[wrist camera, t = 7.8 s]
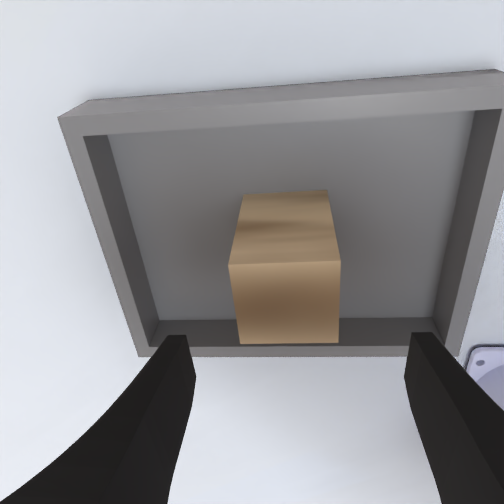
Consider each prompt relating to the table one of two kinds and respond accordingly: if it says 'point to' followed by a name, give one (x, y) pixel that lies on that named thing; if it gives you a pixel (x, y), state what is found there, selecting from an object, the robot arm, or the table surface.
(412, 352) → the robot arm
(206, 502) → the table surface
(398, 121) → the tray
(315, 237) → the maple block
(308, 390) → the table surface
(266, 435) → the table surface
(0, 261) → the table surface
